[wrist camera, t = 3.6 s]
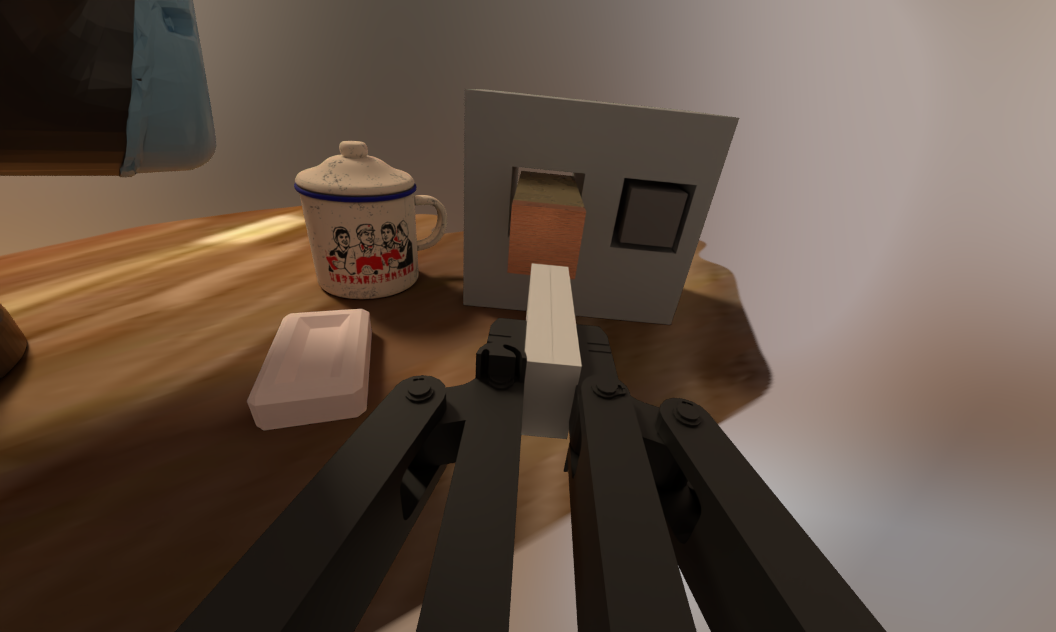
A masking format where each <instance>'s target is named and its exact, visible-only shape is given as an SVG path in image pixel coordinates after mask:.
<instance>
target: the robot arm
mask: <svg viewBox="0 0 1056 632" xmlns="http://www.w3.org/2000/svg"><path fill="white" fill-rule="evenodd" d="M215 150H216V136H215V129H214V123H213V116H212V110H211V105H210V98H209V93H208V86H207V80H206V74H205V68H204V62H203V56H202V51H201V45H200V39H199V34H198V28H197V22H196V16H195V10H194V4H193V0H0V176H120V177H132V176H134V175H135V174H136V173H151V172H167V171H186V170H193V169H195V168H198V167H200V166H202V165H204V164H205V163H207V162H208V161H209V160H210V159H211V157H212V156H213V155H214V153H215ZM26 345H27V342H26V338H25V336H24V334H23V333H22V331H21V330H20V328H19V327H18V326H17V324H16V323H15V321H14V320H13V318H12V317H11V316H10V314H9V313H8V311H7V310H6V309H5V308H4V307H3V306H2V305H1V304H0V379H1V378H2V377H3V376H4V375H6V374H7V373H8V372H9V371H10V370H11V369H12V368H13V367H14V366H15V365H16V364H17V362H18V361H19V360H20V359H21V357H22V356H23V354H24V352H25V349H26ZM568 431H569V434H570V443H569V448H568V452H567V457H566V462H565V467H564V472H568V474H569V491H570V507H571V524H572V541H573V558H574V574H575V591H576V608H577V625H578V632H696V628H695V624H694V621H693V617H692V614H691V610H690V607H689V603H688V599H687V596H686V592H685V589H684V585H683V581H682V578H681V574H680V571H679V568H680V570H681V572H682V574H683V576H684V578H685V580H686V582H687V584H688V586H689V588H690V590H691V592H692V594H693V596H694V598H695V600H696V602H697V604H698V606H699V608H700V610H701V612H702V614H703V616H704V619H705V621H706V622H707V625H708V627H709V629H710V630H711V632H886V630H885V629H884V628H883V627H882V626H881V624H880V623H879V622H878V621H877V620H876V618H874V616H873V615H872V613H871V612H870V611H869V610H868V608H866V606H865V605H864V604H863V602H862V601H861V600H860V599H859V597H858V596H857V595H856V594H855V592H854V591H853V590H852V589H851V588H850V586H849V585H848V584H847V583H846V581H845V580H844V579H843V578H842V576H841V575H840V574H839V573H838V572H837V570H836V569H835V568H834V567H833V565H832V564H831V563H830V562H829V561H828V559H827V558H826V557H825V556H824V554H823V553H822V552H821V551H820V549H819V548H818V547H817V546H816V545H815V543H814V542H813V541H812V540H811V538H810V537H809V536H808V535H807V534H806V533H805V531H804V530H803V529H802V527H801V526H800V525H799V524H798V523H797V521H796V520H795V519H794V518H793V516H792V515H791V514H790V513H789V511H788V510H787V509H786V508H785V506H784V505H783V504H782V503H781V502H780V500H779V499H778V498H777V497H776V495H775V494H774V493H773V492H772V491H771V489H770V488H769V487H768V486H767V485H766V483H765V482H764V481H763V480H762V478H761V477H760V476H759V475H758V473H757V472H756V471H755V470H754V469H753V467H752V466H751V465H750V464H749V462H748V461H747V460H746V459H745V457H744V456H743V455H742V454H741V453H740V451H739V450H738V449H737V448H736V446H735V445H734V444H733V443H732V441H731V440H730V439H729V438H728V437H727V435H726V434H725V433H724V432H723V431H722V429H721V428H720V427H719V425H718V424H717V423H716V422H715V421H714V419H713V418H712V417H711V416H710V414H709V413H708V412H707V411H705V410H704V409H703V408H702V407H701V406H699V405H697V404H695V403H694V402H692V401H688V400H685V399H681V398H671V399H667V400H665V401H664V402H663V403H662V404H661V405H660V408H659V407H656V406H653V405H650V404H647V403H644V402H641V401H639V400H636V399H635V398H633V397H631V395H630V392H629V390H628V388H627V387H626V386H625V385H624V384H623V383H622V382H621V381H620V380H618V376H617V372H616V368H615V364H614V360H613V357H612V354H611V349H610V346H609V341H608V337H607V335H606V334H605V332H604V331H603V330H602V329H601V328H600V327H599V326H588V325H578V324H576V321H575V314H574V306H573V299H572V291H571V284H570V277H569V269H568V267H563V266H553V265H543V264H533V263H532V266H531V276H530V285H529V295H528V305H527V315H526V320H516V319H505V318H498V319H497V320H496V321H495V322H494V323H493V324H492V325H491V327H490V332H489V336H488V340H487V344H485V345H484V346H482V347H480V348H479V350H478V351H477V353H476V378H475V379H473V380H472V381H470V382H468V383H466V384H464V385H459V386H454V387H446V388H445V385H444V384H443V383H442V382H441V381H440V380H439V379H437V378H434V377H432V376H424V375H421V376H413V377H410V378H408V379H405V380H403V381H402V382H400V383H399V384H398V385H396V386H395V388H394V389H393V390H392V391H391V392H390V393H389V394H388V395H387V396H386V398H385V399H384V400H383V401H382V402H381V403H380V404H379V405H378V406H377V408H376V409H375V410H374V411H373V412H372V413H371V414H370V415H369V416H368V418H367V419H366V420H365V421H364V422H363V423H362V424H361V425H360V426H359V428H358V429H357V430H356V431H355V432H354V433H353V434H352V435H351V436H350V438H349V439H348V440H347V441H346V442H345V443H344V444H343V445H342V446H341V448H340V449H339V450H338V451H337V452H336V453H335V454H334V455H333V456H332V458H331V459H330V460H329V461H328V462H327V463H326V464H325V465H324V466H323V468H322V469H321V470H320V471H319V472H318V473H317V474H316V475H315V476H314V478H313V479H312V480H311V481H310V482H309V483H308V484H307V485H306V486H305V488H304V489H303V490H302V491H301V492H300V493H299V494H298V495H297V496H296V498H295V499H294V500H293V501H292V502H291V503H290V504H289V505H288V506H287V508H286V509H285V510H284V511H283V512H282V513H281V514H280V515H279V516H278V518H277V519H276V520H275V521H274V522H273V523H272V524H271V525H270V526H269V528H268V529H267V530H266V531H265V532H264V533H263V534H262V535H261V536H260V538H259V539H258V540H257V541H256V542H255V543H254V544H253V545H252V546H251V548H250V549H249V550H248V551H247V552H246V553H245V554H244V555H243V556H242V558H241V559H240V560H239V561H238V562H237V563H236V564H235V565H234V566H233V568H232V569H231V570H230V571H229V572H228V573H227V574H226V575H225V576H224V578H223V579H222V580H221V581H220V582H219V583H218V584H217V585H216V587H215V588H214V589H213V590H212V591H211V592H210V593H209V594H208V595H207V597H206V598H205V599H204V600H203V601H202V602H201V603H200V604H199V605H198V607H197V608H196V609H195V610H194V611H193V612H192V613H191V614H190V615H189V617H188V618H187V619H186V620H185V621H184V622H183V623H182V624H181V625H180V627H179V628H178V629H177V630H176V631H175V632H354V630H355V629H356V627H357V625H358V623H359V621H360V620H361V618H362V616H363V614H364V613H365V611H366V609H367V607H368V605H369V604H370V602H371V600H372V598H373V596H374V595H375V593H376V591H377V589H378V588H379V586H380V584H381V582H382V580H383V579H384V577H385V575H386V573H387V572H388V570H389V568H390V566H391V564H392V563H393V561H394V559H395V557H396V556H397V554H398V552H399V550H400V548H401V547H402V545H403V543H404V541H405V540H406V538H407V536H408V534H409V532H410V531H411V529H412V527H413V525H414V524H415V522H416V520H417V518H418V516H419V515H420V513H421V511H422V509H423V507H424V506H425V504H426V502H427V500H428V499H429V497H430V495H431V493H432V491H433V490H434V488H435V486H436V484H437V483H438V481H439V479H440V477H441V475H442V474H443V472H444V470H445V468H446V465H447V464H449V463H454V462H456V464H455V468H454V472H453V476H452V481H451V485H450V489H449V493H448V498H447V502H446V506H445V510H444V515H443V519H442V523H441V527H440V532H439V536H438V540H437V544H436V549H435V553H434V557H433V561H432V566H431V570H430V574H429V578H428V583H427V587H426V591H425V595H424V600H423V604H422V608H421V612H420V617H419V621H418V625H417V629H416V632H509V616H510V601H511V585H512V570H513V554H514V539H515V523H516V507H517V492H518V476H519V461H520V445H521V435H529V436H539V437H550V438H561V439H567V436H568ZM678 566H679V567H678Z"/></svg>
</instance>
